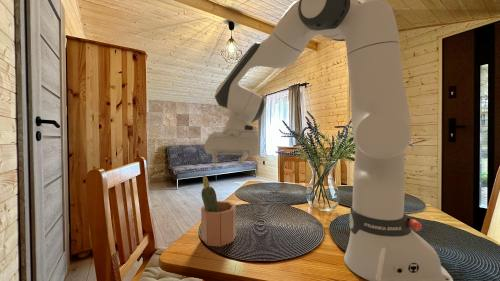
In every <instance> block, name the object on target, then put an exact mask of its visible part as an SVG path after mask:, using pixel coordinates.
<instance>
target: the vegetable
mask: <svg viewBox="0 0 500 281" xmlns="http://www.w3.org/2000/svg"><path fill="white" fill-rule="evenodd" d="M202 175H203V176H202V184H203V185H202V186H203V187H202V190H201V198H202V202H203V206H205V208H206V210H208V211H210V212H219V209H218V204H217V201H218V200H217V194H216V191H215V189H214V187H212V186H210V185H211V184H210V181H209V180H208V177H207V175H206V174H204V173H203V174H202Z"/></svg>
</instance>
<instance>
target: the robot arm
mask: <svg viewBox="0 0 500 281" xmlns="http://www.w3.org/2000/svg"><path fill="white" fill-rule="evenodd" d="M318 35H320V36H323V37H324V38H326V39H330V40H332V41H336V42H345V47H346V60H347V67H348V68H347V69H348V78H349V79H348V80H349V90H350V91H349V94H350V110H351V111H350V112H351V124H352V125H351V128H352V138H353V139H352V140H353V142H354V144H355V149H354V150H355V151H354V164H353V166H354V167H353V180H352V205H351V206H350V212H349V228H350V232H349V240H348V244H347V247H346V251H345V253H344V256H343V261H344V263H345V265H346V267H347V268H348V269H349V270H351V271H352V272H353V273H354V274H356V275H357V276H359V277H361V278H363V279H365V280H366V281H454V279H453V277H452V275H450V273H449V272H448V271H447V270H446V269H445V267H444V266H442V265H441V264H442V262H441V260H440V257H439V254H438V253H437V251H436V250H435V248H433V246H431V244H430V243H428V241H426V240H425V239H424V238H423V237H421V236H420V235H419V234H418V233H416V232H419V231H421V230H422V229H423V226H422V224H421V223H420V222H419V221H418V220H416V219H414V218H413V219H412V217H411V216H410V215H408V214H406V213H405V212H404V210H405V208H404V207H405V190H406V178H405V177H406V174H405V173H406V172H405V151H406V149H407V148H408V147H409V145H410V142H411V140H412V127H411V126H412V125H411V118H410V117H411V116H410V111H409V105H408V98H407V93H406V88H405V83H404V82H405V81H404V76H403V74H404V73H403V64H402V52H401V44H400V43H401V41H400V35H399V29H398V25H397V20H396V16H395V14H394V11H393V8H392V6H391V4H390V3H389V2H388V1H387V0H367V1H364V2H362V3H361V2H360V1H359V0H296V1H294V2H293V3H291V5H290V6H289V7H288V8H287V10H285V12H284V13H283V15H282V16H281V18H280V19H279V20H278V22H277V23H276V24H275V27H274V29H273V30H272V32H271V33H270V35H269V36H268V37H267V38H266V39H264V40H262V41H260V42H258V41H257V42H255V43H253V44H252V45H251V46H250V47H249V48H248V50H246V52H245V53H244V55H243V56H241V58H240V59H239V61H238V62H237V63H236V65H235V66H234V67H233V69H232V70H231V71H230V73H229V74H227V76H226V77H225V78H224V80H223V81H222V82H220V84H219V85H218V86H217V88H216V91H215V94H214V99H215V101H216V103H217V105H218V106H219V107H222V108H224V109H229V110H230V111H229V114H228V120H227V121H226V122H225V126H224V129H223V132H221V131H220V132H216V131H214V132H212V133H210V134H208V135H207V137H208V138H207V139H206V141H205V143H204V144H203V148H204V151H205V153H206V154H207V155H211V156H212V159H211V162H212V163H213V164H218V163H219V162H218V161H219V159H218V156H217V155H234V156H235V155H237V156H240V157H238V161H237V162H238V165H244V163H245V160H246V159H248V158H249V156H257V155H258V154H259V153H260V147H261V146H260V141H259V140H260V139H259V138H260V137H259V132H258V129H257V127H256V126H253V125H250V124H252V123H255V122H256V121H258V120H259V119H260V117H261V116H262V114H263V113H264V109H265V104H266V102H265V99H264V97H263V96H262V95H261V94H259V93H257V92H255V91H253V90H251V89H248V88H247V87H245V86H243V85H241V84H240V81H241V80H242V79H243V78H244V76H245V75H247V73H248V72H249V70H251V69H253V68H255V67H266V68H267V67H268V68H272V69H284V68H287V67H290V66H292V65H293V64H294V63H295V62H296V61H297V60H298V58H300V56H301V55H302V53H303V52H304V50H305V48H306V47H307V46H308V44H309V42H310V41H311V40H312V39H313V38H314V37H316V36H318ZM446 279H448V280H446Z"/></svg>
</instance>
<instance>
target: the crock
mask: <svg viewBox="0 0 500 281" xmlns="http://www.w3.org/2000/svg"><path fill="white" fill-rule="evenodd" d="M217 204H218V209H219V212H210V211H208V210H206V208H205V206H204V205H203V206H202V207H201V209H200V214H201V215H200V216H201V217H200V219H201V241H203V242H204V244H205V245H206V246H210V247H211V246H212V247H220V248H221V247H224V246H226V244H227V245H229V243H230V244H232V243H231V242H233V241H235V240H234V239H236V238H235V236H236V237H237V205H236V204H234V203H233V202H231V201H226V200H217ZM233 243H234V242H233Z"/></svg>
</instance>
